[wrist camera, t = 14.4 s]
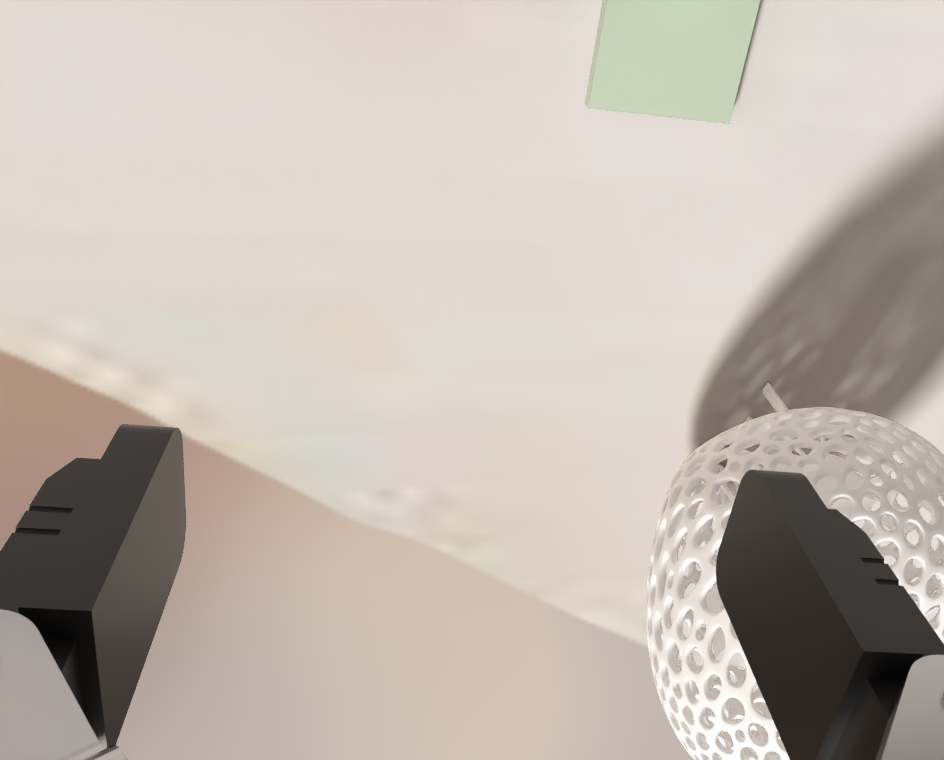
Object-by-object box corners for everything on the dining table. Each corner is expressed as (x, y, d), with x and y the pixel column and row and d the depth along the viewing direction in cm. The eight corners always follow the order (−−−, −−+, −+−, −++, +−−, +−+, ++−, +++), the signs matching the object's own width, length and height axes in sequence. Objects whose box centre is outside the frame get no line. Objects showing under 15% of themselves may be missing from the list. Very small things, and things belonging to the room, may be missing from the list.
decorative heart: (720, 598, 54) (836, 866, 39) (566, 549, 52) (626, 815, 37) (897, 357, 47) (1123, 575, 32) (726, 285, 44) (883, 486, 29)
